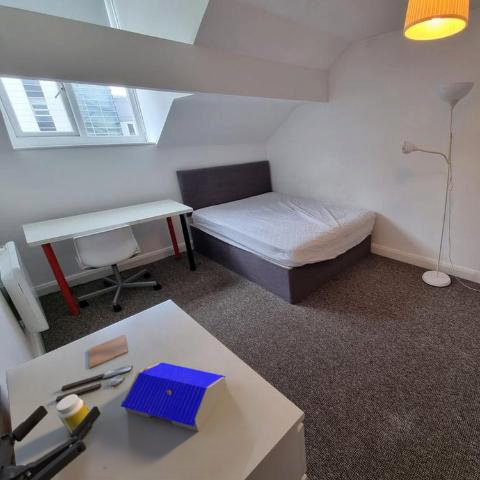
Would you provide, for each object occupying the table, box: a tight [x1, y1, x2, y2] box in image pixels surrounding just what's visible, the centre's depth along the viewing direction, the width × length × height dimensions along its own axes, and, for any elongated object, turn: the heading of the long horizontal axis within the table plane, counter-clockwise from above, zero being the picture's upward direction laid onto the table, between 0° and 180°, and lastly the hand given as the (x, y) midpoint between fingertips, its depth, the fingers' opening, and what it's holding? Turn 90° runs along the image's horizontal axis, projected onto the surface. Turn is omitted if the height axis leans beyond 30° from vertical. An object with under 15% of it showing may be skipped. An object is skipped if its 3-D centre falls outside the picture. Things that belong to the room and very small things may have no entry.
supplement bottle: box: [55, 394, 90, 434], centre depth 66 cm, size 5×5×8 cm
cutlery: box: [55, 364, 133, 403], centre depth 78 cm, size 17×6×1 cm, turn 113°
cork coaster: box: [88, 334, 129, 369], centre depth 90 cm, size 10×10×1 cm
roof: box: [120, 362, 228, 432], centre depth 72 cm, size 22×14×7 cm, turn 76°
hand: (70, 409), depth 65 cm, fingers open, 13 cm apart
